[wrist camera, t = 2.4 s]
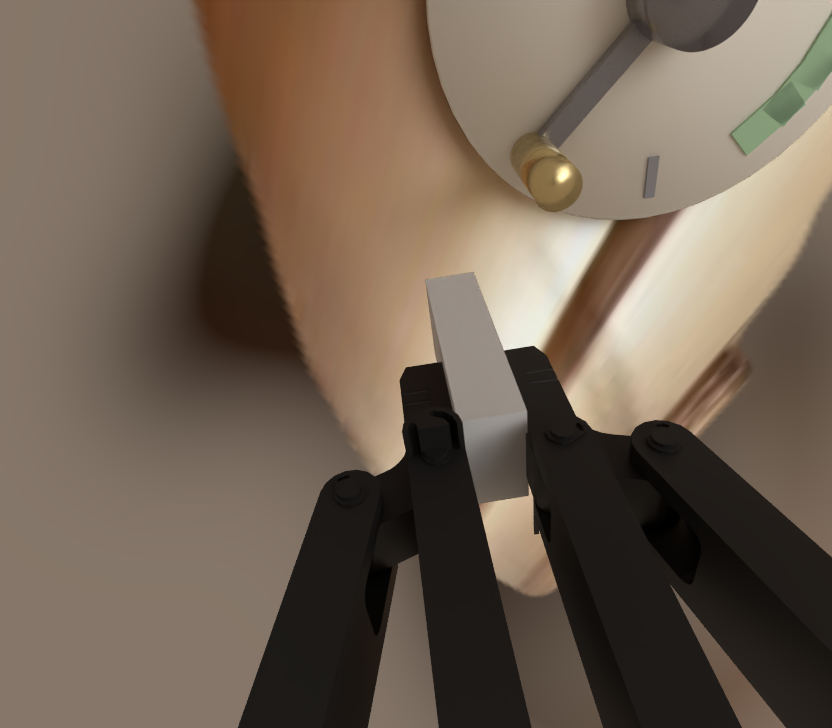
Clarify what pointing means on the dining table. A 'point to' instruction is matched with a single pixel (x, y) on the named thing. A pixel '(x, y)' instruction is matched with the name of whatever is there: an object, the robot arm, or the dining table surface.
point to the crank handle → (649, 21)
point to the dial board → (634, 95)
